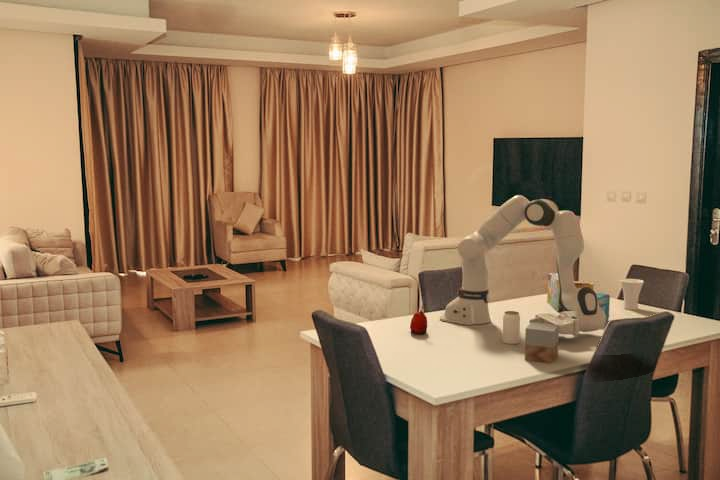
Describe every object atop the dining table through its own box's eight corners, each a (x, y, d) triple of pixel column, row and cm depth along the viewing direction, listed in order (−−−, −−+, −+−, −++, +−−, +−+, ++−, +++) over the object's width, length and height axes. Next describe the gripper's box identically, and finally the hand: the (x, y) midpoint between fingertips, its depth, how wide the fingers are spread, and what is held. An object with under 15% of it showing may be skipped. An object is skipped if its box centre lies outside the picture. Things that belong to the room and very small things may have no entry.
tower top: (525, 344, 254) (525, 328, 253) (531, 337, 263) (531, 322, 262) (553, 347, 250) (553, 331, 249) (558, 340, 259) (558, 324, 258)
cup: (622, 305, 341) (623, 277, 340) (644, 307, 335) (646, 280, 334) (616, 309, 333) (617, 281, 331) (639, 312, 327) (640, 283, 325)
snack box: (569, 312, 327) (570, 280, 325) (557, 312, 328) (558, 280, 326) (557, 302, 348) (558, 272, 346) (546, 302, 349) (547, 272, 347)
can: (519, 344, 274) (520, 314, 273) (502, 344, 275) (503, 314, 274) (519, 340, 280) (519, 311, 279) (502, 339, 282) (503, 310, 280)
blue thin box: (595, 325, 304) (596, 298, 302) (586, 323, 307) (587, 296, 305) (609, 320, 312) (610, 293, 310) (599, 318, 315) (600, 292, 314)
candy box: (571, 315, 321) (572, 282, 319) (572, 313, 325) (573, 280, 323) (591, 317, 318) (593, 283, 316) (592, 314, 322) (593, 282, 320)
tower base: (524, 360, 255) (525, 344, 254) (530, 353, 264) (531, 337, 263) (552, 364, 251) (553, 347, 250) (557, 356, 260) (558, 340, 259)
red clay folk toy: (416, 330, 297) (416, 295, 295) (431, 332, 293) (431, 297, 291) (407, 333, 291) (407, 298, 289) (421, 336, 287) (421, 300, 285)
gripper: (554, 308, 293) (524, 310, 289) (581, 320, 273) (548, 322, 270) (553, 323, 293) (523, 325, 290) (580, 336, 274) (548, 338, 271)
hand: (535, 324), depth 280 cm, fingers open, 8 cm apart
